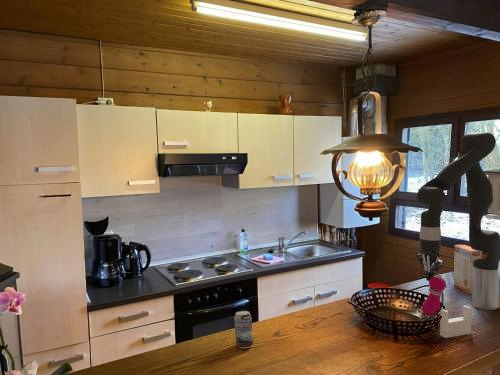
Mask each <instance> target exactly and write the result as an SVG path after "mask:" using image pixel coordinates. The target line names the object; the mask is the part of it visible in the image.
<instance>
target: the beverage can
mask: <svg viewBox="0 0 500 375" xmlns="http://www.w3.org/2000/svg"><path fill="white" fill-rule="evenodd" d="M233 317H234V319H233V320H234V331H235V332H234V333H235V334H234V335H235V346H237V347H238V348H240V349H247V348H251V347H252V345H254V336H253V321H252V315H251V313H250V311H248V310H241V311H240V310H239V311H237V312H235V315H234V316H233Z"/></svg>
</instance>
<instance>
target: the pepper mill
mask: <svg viewBox="0 0 500 375" xmlns="http://www.w3.org/2000/svg"><path fill="white" fill-rule="evenodd" d="M428 286H429V287H428V292H429V293H428V296H427V298H426V299H425V300H424V301H423V303H422V305H421V310H422V311H421V316H422V315H433V314H434V313H435V312H436V311H438V310H439V309H440V303H441V298H442V297H441V296H442V295H443V294H444V290H446V287H447V282H446V280H445V279H444V278H443V277H442V274H441V273H437V274H436V276H435V275H434V277H432V278H431V279H430V280H429V281H428ZM441 291H442V292H441ZM442 293H443V294H442Z"/></svg>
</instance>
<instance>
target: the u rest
mask: <svg viewBox="0 0 500 375" xmlns="http://www.w3.org/2000/svg"><path fill="white" fill-rule="evenodd" d="M440 315H441V316H442V318H441V320H440V319H439V320H440V322H439V324H440V326H439V334H440V336H441V337H442V338H445V339H448V338H454V337H460V336H465V335H470V334H472V307H470V306H468V305H463V306H462V316H459V317H458V316H457V317H453V318H449V311H448V310H446V309H444V308H442V309H441V310H440Z"/></svg>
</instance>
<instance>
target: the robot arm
mask: <svg viewBox="0 0 500 375" xmlns="http://www.w3.org/2000/svg"><path fill="white" fill-rule="evenodd" d="M460 143H461V144H460V148H461V155H462V156H461V157H459V158H457V159H455V160H453V161H452V162H450V163H447V165H446V166H444V168H442V170H440V172H438V174H437V175H436V176H434V178H432V179H430V180H429V181H427V182H426V183H424V184H423V185H422V186H420V188H419V189H418V190H417V192H416V193H417V194H416V199H417V201H418V202H419V203H420V204H423V205H426V206H428V209H427V210H424V211H422V212H421V214H420V229H419V249H420V253H418V254H416V257H417V261H418V262H419V264H420V267H421V268H422V269H424V271H425V280H426V281H428V282H429V280H430V279H431V278H432V277H434V276H435V274H434V273H435V272H439V271H440V269H441V268H442V267H443V265H445V261H444V260H441V258H440V253H439V252H440V251H441V249H442V246H441V245H442V244H441V243H442V230H441V216H442V214H443V209H444V207H445V203H446V193H445V191H446V192H447V191H449V190H450V189H451V188H453V187H454V186H455V184H456V183H457V182H458V181H459V180H461V178H462V177H463V176H465V180H466V196H467V197H466V198H467V203H468V205H467V206H468V241H469V242H468V243H469V246H470V247H471V248H472V249H474V250H478V251H482V252H484V253H485V252H486V256H484V257H482V258H477V259H474V261H473V291H472V294H471V296H472V298H471V299H472V300H471V302H472V303H471V304H472V306H473V307H474V308H476V309H480V310H485V311H495V310H498V308H500V285H499V264H500V233H499V232H498V231H494V230H487V229H482V226H481V225H482V220H483V217H484V215H485V214H486V213H487V212H488V210H489V209H490V207H491V206H492V204H493V202H494V193H493V192H494V191H493V184H492V182H491V180H490V179H489V176H488V175H487V174H486V172H485V171H484V170H483V168H482V166H481V164H480V162H481V161H482V160H483V159H486V157H488V155H490V154H491V153H492V152H493V151H494V149H495V148H496V144H497V141H496V137H495V136H494V134H493V133H490V132H466V133H465V134H464V135H463V136H462V137H461V142H460Z"/></svg>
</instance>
